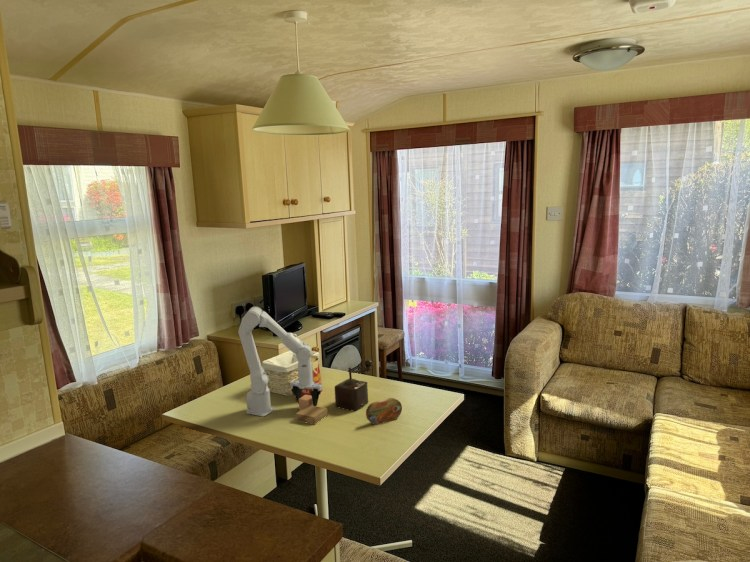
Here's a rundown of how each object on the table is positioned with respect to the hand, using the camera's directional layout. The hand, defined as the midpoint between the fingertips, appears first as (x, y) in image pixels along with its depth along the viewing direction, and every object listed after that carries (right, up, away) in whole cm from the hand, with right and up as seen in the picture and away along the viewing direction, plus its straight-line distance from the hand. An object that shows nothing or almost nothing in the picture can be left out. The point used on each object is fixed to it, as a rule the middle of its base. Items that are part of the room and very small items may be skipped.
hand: (307, 404), depth 217 cm
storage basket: (-10, +2, +27) cm, 29 cm away
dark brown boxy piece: (+20, -1, +4) cm, 21 cm away
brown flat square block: (+3, -3, -9) cm, 10 cm away
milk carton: (0, 0, +15) cm, 15 cm away
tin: (+32, -3, -14) cm, 35 cm away
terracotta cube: (0, -2, 0) cm, 2 cm away
